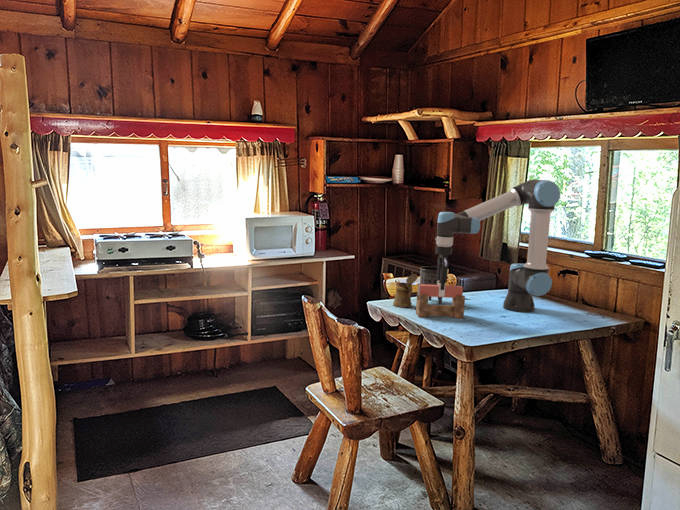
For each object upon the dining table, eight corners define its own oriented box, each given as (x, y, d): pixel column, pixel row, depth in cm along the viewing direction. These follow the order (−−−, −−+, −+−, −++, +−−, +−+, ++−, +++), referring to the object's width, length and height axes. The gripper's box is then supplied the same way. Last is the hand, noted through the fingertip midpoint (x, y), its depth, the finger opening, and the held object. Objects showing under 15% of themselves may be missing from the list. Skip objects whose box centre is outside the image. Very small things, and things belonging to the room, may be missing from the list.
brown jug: (405, 310, 285) (407, 273, 282) (389, 304, 296) (391, 268, 293) (420, 309, 289) (422, 272, 286) (403, 302, 301) (405, 268, 298)
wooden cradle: (459, 314, 282) (461, 292, 280) (463, 318, 274) (465, 296, 273) (415, 313, 281) (417, 291, 279) (418, 317, 273) (419, 294, 272)
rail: (460, 296, 278) (461, 286, 277) (462, 298, 275) (463, 287, 274) (417, 294, 277) (418, 284, 276) (418, 296, 274) (419, 285, 273)
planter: (447, 302, 306) (449, 268, 303) (437, 306, 295) (439, 271, 293) (424, 298, 313) (426, 265, 310) (413, 302, 302) (416, 268, 299)
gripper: (432, 242, 280) (429, 291, 284) (439, 247, 264) (435, 299, 268) (448, 243, 281) (444, 291, 284) (456, 248, 264) (452, 299, 268)
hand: (440, 295), depth 276 cm, fingers closed on rail, 4 cm apart
